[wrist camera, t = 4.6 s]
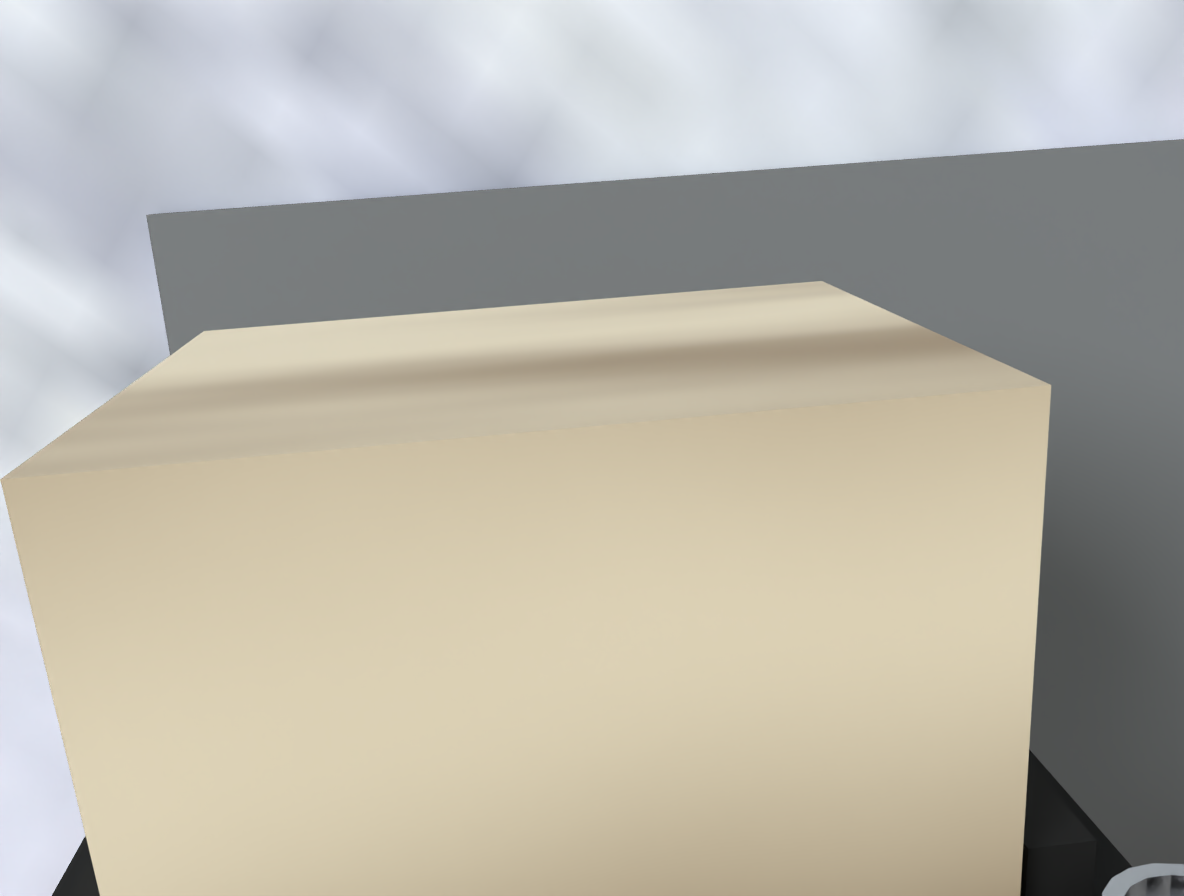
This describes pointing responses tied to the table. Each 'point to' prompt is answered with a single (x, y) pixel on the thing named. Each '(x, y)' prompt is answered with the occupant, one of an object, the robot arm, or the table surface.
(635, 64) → the table surface
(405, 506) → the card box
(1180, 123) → the table surface
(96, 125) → the table surface
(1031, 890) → the robot arm
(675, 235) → the mat
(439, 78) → the table surface
